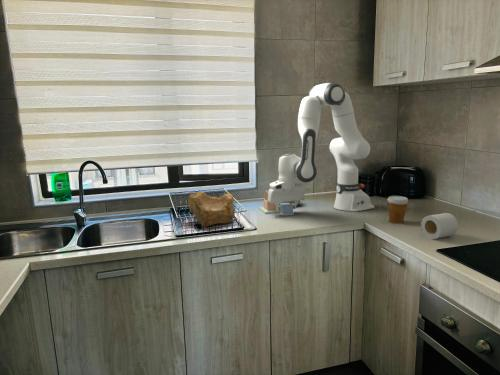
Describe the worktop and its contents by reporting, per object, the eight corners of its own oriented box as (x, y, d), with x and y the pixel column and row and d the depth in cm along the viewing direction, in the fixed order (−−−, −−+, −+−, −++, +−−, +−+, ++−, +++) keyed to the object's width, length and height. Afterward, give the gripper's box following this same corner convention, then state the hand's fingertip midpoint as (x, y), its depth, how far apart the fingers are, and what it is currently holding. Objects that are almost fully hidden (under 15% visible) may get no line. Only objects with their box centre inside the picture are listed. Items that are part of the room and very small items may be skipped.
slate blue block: (288, 211, 201) (288, 202, 200) (293, 214, 195) (293, 205, 194) (279, 212, 199) (279, 203, 198) (284, 215, 194) (284, 206, 193)
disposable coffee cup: (410, 221, 180) (412, 197, 178) (401, 225, 174) (403, 201, 171) (391, 217, 187) (393, 194, 184) (382, 221, 181) (383, 197, 178)
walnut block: (272, 198, 205) (272, 189, 204) (276, 200, 200) (276, 191, 199) (264, 199, 204) (264, 190, 203) (268, 201, 198) (268, 192, 197)
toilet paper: (436, 231, 165) (439, 210, 163) (456, 238, 156) (459, 216, 154) (420, 235, 161) (422, 213, 159) (439, 242, 152) (441, 219, 150)
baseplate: (275, 207, 209) (275, 205, 209) (282, 211, 200) (282, 210, 200) (258, 209, 206) (258, 207, 206) (265, 213, 197) (265, 212, 196)
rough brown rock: (185, 231, 174) (184, 201, 169) (189, 217, 189) (188, 190, 185) (234, 231, 175) (234, 201, 170) (234, 218, 190) (234, 190, 186)
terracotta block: (273, 206, 206) (273, 198, 205) (277, 209, 201) (277, 200, 200) (263, 207, 205) (263, 199, 203) (267, 210, 199) (267, 201, 198)
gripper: (301, 181, 200) (301, 206, 203) (266, 184, 193) (266, 209, 196) (307, 183, 194) (306, 209, 197) (271, 186, 187) (271, 212, 190)
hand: (286, 209), depth 196 cm, fingers open, 8 cm apart
